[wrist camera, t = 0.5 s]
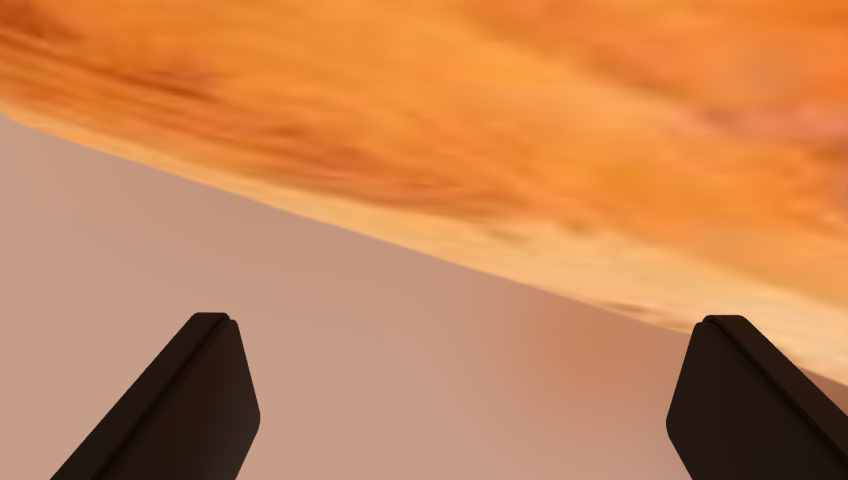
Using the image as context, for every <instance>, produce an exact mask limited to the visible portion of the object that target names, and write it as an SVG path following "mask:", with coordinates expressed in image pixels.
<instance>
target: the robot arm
mask: <svg viewBox="0 0 848 480" xmlns="http://www.w3.org/2000/svg"><path fill="white" fill-rule="evenodd" d="M259 424H260V411H259V407H258V403H257V399H256V395H255V391H254V387H253V383H252V379H251V375H250V371H249V367H248V363H247V360H246V355H245V352H244V348H243V344H242V339H241V335H240V331H239V327H238V325H237V322H236V321H235V320H230V318H229V316H228V315H227V314H226V313H206V312H205V313H203V312H202V313H201V312H200V313H195V314H194V315H193V316H192V317H191V318H190V319H189V320H188V321H187V322H186V323H185V325H184V326H183V327H182V328H181V329H180V330H179V332H178V333H177V334H176V335H175V336H174V337H173V338H172V340H171V341H170V342H169V343H168V344H167V345H166V346H165V348H164V349H163V350H162V351H161V352H160V354H159V355H158V356H157V357H156V358H155V359H154V360H153V361H152V363H151V364H150V365H149V366H148V367H147V368H146V369H145V371H144V372H143V373H142V374H141V375H140V377H139V378H138V379H137V380H136V381H135V382H134V383H133V384H132V386H131V387H130V388H129V389H128V390H127V391H126V393H125V394H124V395H123V396H122V397H121V398H120V399H119V401H118V402H117V403H116V404H115V405H114V406H113V408H112V409H111V410H110V411H109V412H108V413H107V414H106V416H105V417H104V418H103V419H102V420H101V421H100V422H99V424H98V425H97V426H96V427H95V428H94V429H93V431H92V432H91V433H90V434H89V435H88V436H87V437H86V439H85V440H84V441H83V442H82V443H81V444H80V446H79V447H78V448H77V449H76V450H75V451H74V453H73V454H72V455H71V456H70V457H69V458H68V459H67V461H66V462H65V463H64V464H63V465H62V466H61V467H60V469H59V470H58V471H57V472H56V473H55V474H54V475H53V477H52V478H51V479H50V480H235V479H236V477H237V475H238V473H239V471H240V468H241V466H242V464H243V462H244V460H245V457H246V455H247V453H248V451H249V449H250V446H251V444H252V442H253V440H254V438H255V436H256V433H257V431H258V428H259ZM666 428H667V432H668V436H669V438H670V440H671V442H672V443H673V445H674V447H675V449H676V451H677V453H678V454H679V456H680V458H681V460H682V462H683V464H684V465H685V467H686V469H687V471H688V472H689V474H690V476H691V478H692V480H848V416H847V415H846V414H845V413H843V411H842V410H840V409H839V407H837V406H836V405H835V404H834V403H833V402H832V401H831V400H830V399H829V398H828V397H827V396H826V395H825V394H824V393H823V392H822V391H821V390H820V389H819V388H818V387H817V386H816V385H815V384H814V383H813V382H812V381H810V380H809V379H808V378H807V377H806V376H805V375H804V374H803V373H802V372H801V371H800V370H799V369H798V368H797V367H796V366H795V365H794V364H793V363H792V362H791V361H790V360H789V359H788V358H787V357H786V356H784V355H783V354H782V353H781V352H780V351H779V350H778V349H777V348H776V347H775V346H774V345H773V344H772V343H771V342H770V341H769V340H768V339H767V338H766V337H765V336H764V335H763V334H762V333H761V332H760V331H759V330H757V329H756V328H755V327H754V326H753V325H752V324H751V323H750V322H749V321H748V320H747V319H746V318H744V317H743V316H740V315H708V316H706V317H705V318H704V319H703V321H702V322H699V323H697V324H696V325H695V327H694V329H693V332H692V335H691V339H690V342H689V345H688V349H687V352H686V356H685V359H684V362H683V365H682V369H681V372H680V375H679V379H678V382H677V385H676V389H675V392H674V395H673V399H672V402H671V405H670V409H669V412H668V415H667V419H666Z"/></svg>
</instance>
